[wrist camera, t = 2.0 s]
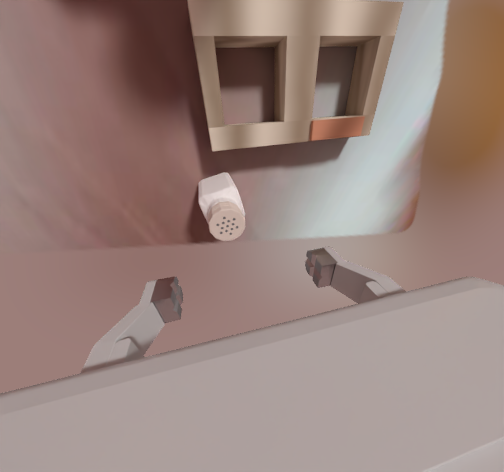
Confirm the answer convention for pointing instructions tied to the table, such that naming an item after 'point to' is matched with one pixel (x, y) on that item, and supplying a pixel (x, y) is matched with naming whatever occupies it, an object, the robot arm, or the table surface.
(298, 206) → the table surface
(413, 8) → the table surface
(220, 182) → the pepper shaker
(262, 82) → the table surface
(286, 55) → the slot rack
